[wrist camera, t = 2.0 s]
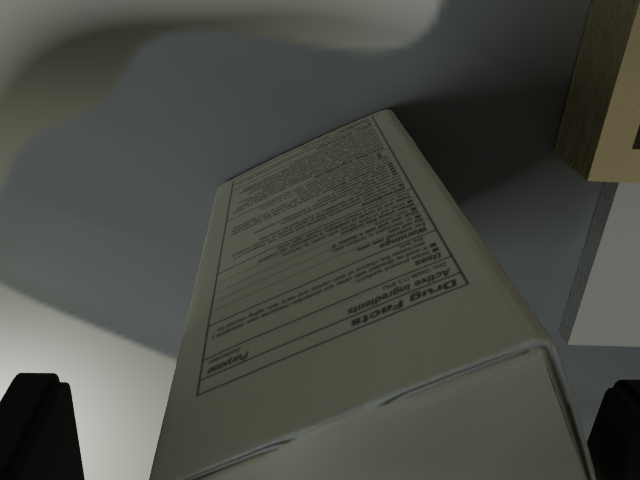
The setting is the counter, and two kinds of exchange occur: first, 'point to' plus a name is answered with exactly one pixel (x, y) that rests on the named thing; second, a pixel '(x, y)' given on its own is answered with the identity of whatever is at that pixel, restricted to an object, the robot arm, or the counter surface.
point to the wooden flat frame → (606, 175)
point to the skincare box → (361, 333)
